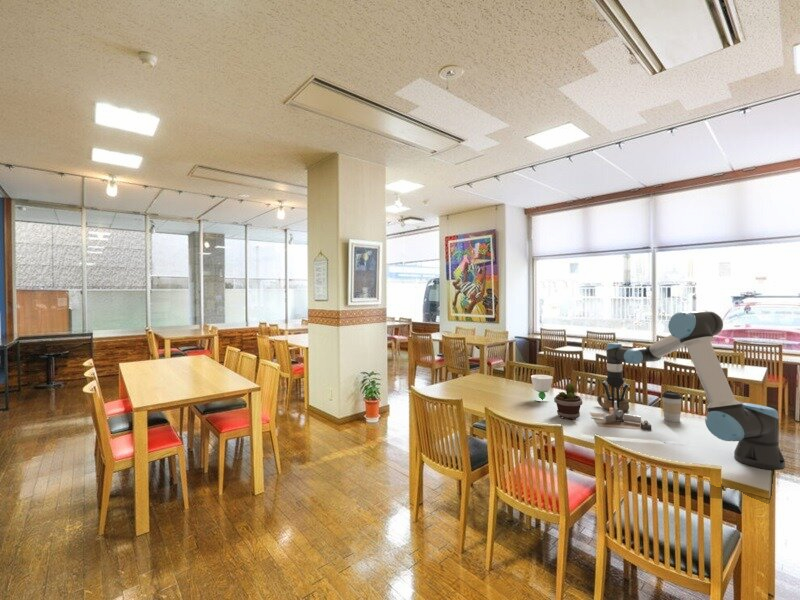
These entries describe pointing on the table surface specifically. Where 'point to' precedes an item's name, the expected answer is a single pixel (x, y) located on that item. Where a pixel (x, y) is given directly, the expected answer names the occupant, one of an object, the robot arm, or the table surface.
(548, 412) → the table surface
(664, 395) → the coffee cup
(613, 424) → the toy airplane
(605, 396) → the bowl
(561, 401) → the flowerpot
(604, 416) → the grey cross-shaped piece
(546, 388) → the cup
